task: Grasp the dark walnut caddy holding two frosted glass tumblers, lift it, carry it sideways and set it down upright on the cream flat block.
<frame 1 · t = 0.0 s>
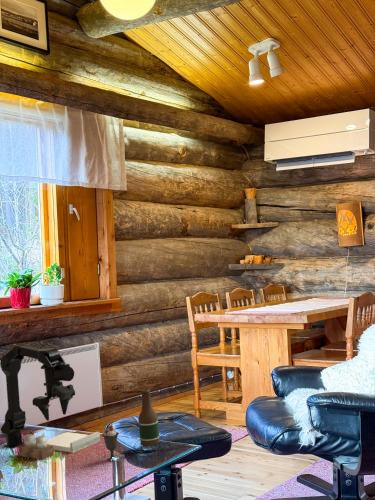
hand: (56, 417, 292), 15 cm above the table, tool pointing down, fingers open, 9 cm apart
sundae: (112, 460, 278), on the table
cream flat block: (70, 444, 303), on the table
glass caddy: (36, 455, 292), on the table
beer bottle: (150, 449, 287), on the table
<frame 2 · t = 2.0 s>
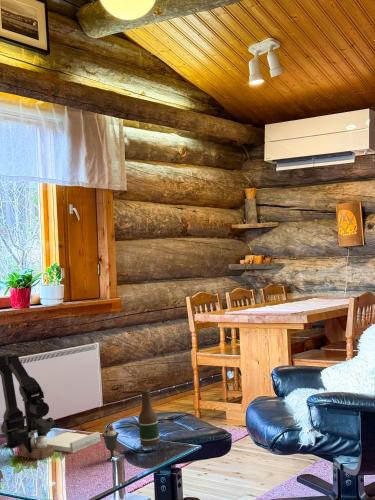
hand: (36, 450, 292), 2 cm above the table, tool pointing down, fingers closed on glass caddy, 6 cm apart
glass caddy: (36, 455, 292), on the table, touching gripper
everything else where it was.
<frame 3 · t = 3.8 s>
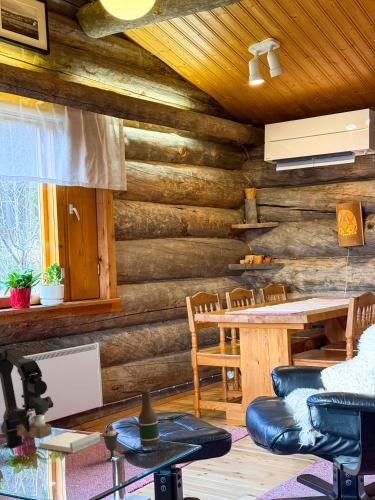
hand: (34, 429, 292), 11 cm above the table, tool pointing down, fingers closed on glass caddy, 6 cm apart
glass caddy: (34, 434, 292), point 9 cm above the table, touching gripper
everything else where it was.
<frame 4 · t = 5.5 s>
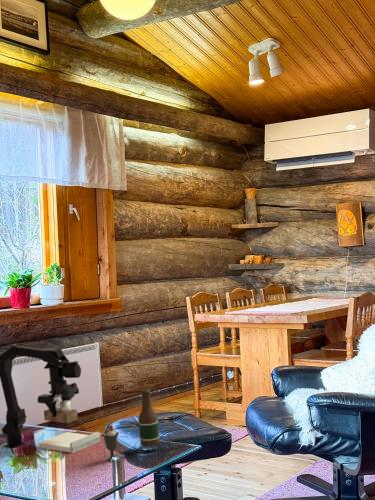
hand: (60, 414, 302), 13 cm above the table, tool pointing down, fingers closed on glass caddy, 6 cm apart
glass caddy: (61, 419, 302), point 11 cm above the table, touching gripper
everything else where it was.
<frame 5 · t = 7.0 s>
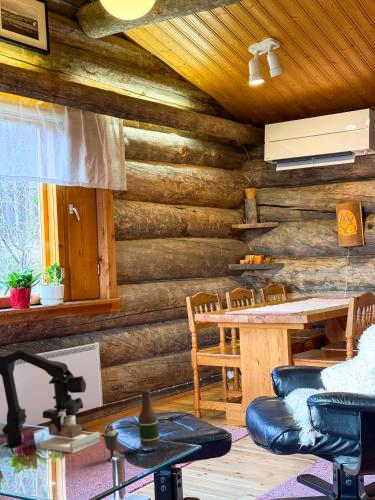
hand: (65, 429, 304), 6 cm above the table, tool pointing down, fingers closed on glass caddy, 6 cm apart
glass caddy: (65, 434, 304), point 4 cm above the table, touching gripper
everything else where it was.
when the fingers open (5 cm above the table, at t = 8.1 s): glass caddy drops 1 cm, resting on cream flat block.
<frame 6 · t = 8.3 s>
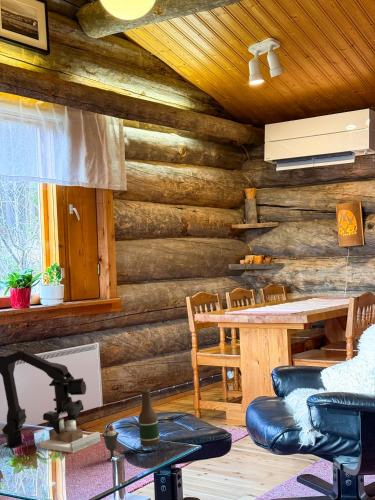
hand: (65, 431, 304), 5 cm above the table, tool pointing down, fingers open, 8 cm apart
glass caddy: (66, 439, 304), point 2 cm above the table, touching cream flat block
everything else where it was.
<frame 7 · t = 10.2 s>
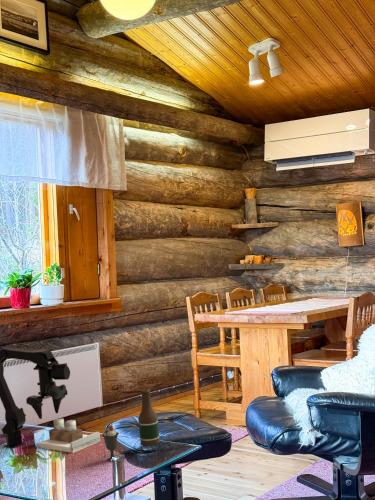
hand: (48, 415, 304), 13 cm above the table, tool pointing down, fingers open, 9 cm apart
nothing on the table moved.
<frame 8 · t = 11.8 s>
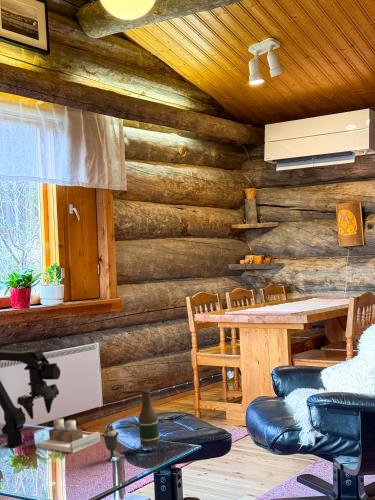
hand: (40, 415, 304), 13 cm above the table, tool pointing down, fingers open, 9 cm apart
nothing on the table moved.
at the end: glass caddy inside the target area on the cream flat block (1.5 cm from its centre), point 2.0 cm above the cream flat block's base; glass caddy tilted 0°; the gripper is holding nothing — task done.
